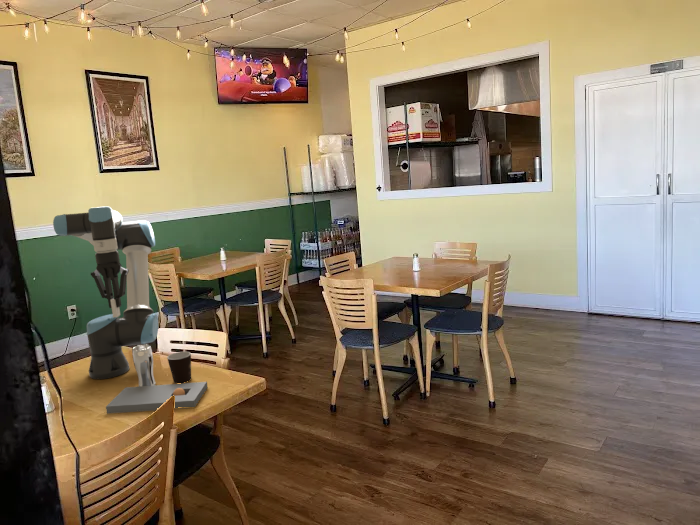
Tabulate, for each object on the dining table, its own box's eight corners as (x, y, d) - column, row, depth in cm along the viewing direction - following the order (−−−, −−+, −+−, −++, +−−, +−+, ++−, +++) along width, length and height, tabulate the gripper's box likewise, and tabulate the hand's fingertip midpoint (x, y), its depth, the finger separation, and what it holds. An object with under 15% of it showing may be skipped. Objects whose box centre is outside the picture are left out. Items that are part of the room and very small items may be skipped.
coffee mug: (187, 385, 204) (183, 359, 202) (166, 384, 206) (162, 359, 204) (201, 373, 215) (198, 348, 213) (181, 372, 217) (178, 348, 215)
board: (106, 413, 184) (105, 406, 184) (126, 393, 200) (125, 387, 200) (194, 407, 183) (194, 400, 183) (207, 388, 199) (206, 381, 199)
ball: (173, 394, 193) (176, 384, 192) (184, 398, 194) (187, 388, 193) (170, 399, 189) (173, 389, 189) (181, 403, 190) (184, 393, 189)
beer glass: (160, 382, 208) (155, 345, 206) (147, 389, 202) (141, 351, 199) (147, 380, 211) (141, 343, 209) (133, 388, 205) (127, 349, 202)
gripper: (82, 254, 187) (93, 320, 191) (120, 251, 187) (130, 317, 191) (93, 250, 194) (103, 314, 199) (129, 248, 194) (139, 312, 198)
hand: (116, 316), depth 195 cm, fingers closed
